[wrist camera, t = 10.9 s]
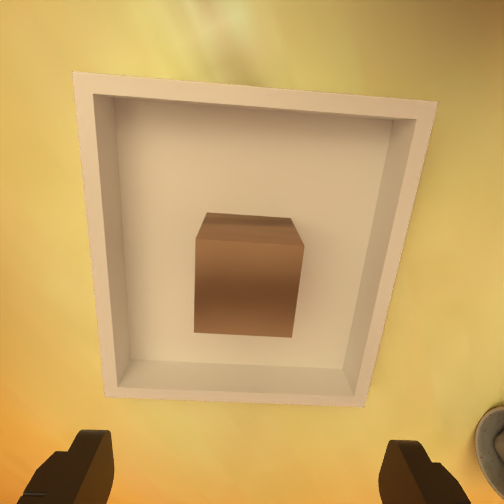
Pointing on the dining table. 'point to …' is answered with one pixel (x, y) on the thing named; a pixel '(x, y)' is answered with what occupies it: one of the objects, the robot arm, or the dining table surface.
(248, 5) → the dining table surface
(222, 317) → the cube
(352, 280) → the tray
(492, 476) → the grey barrel
